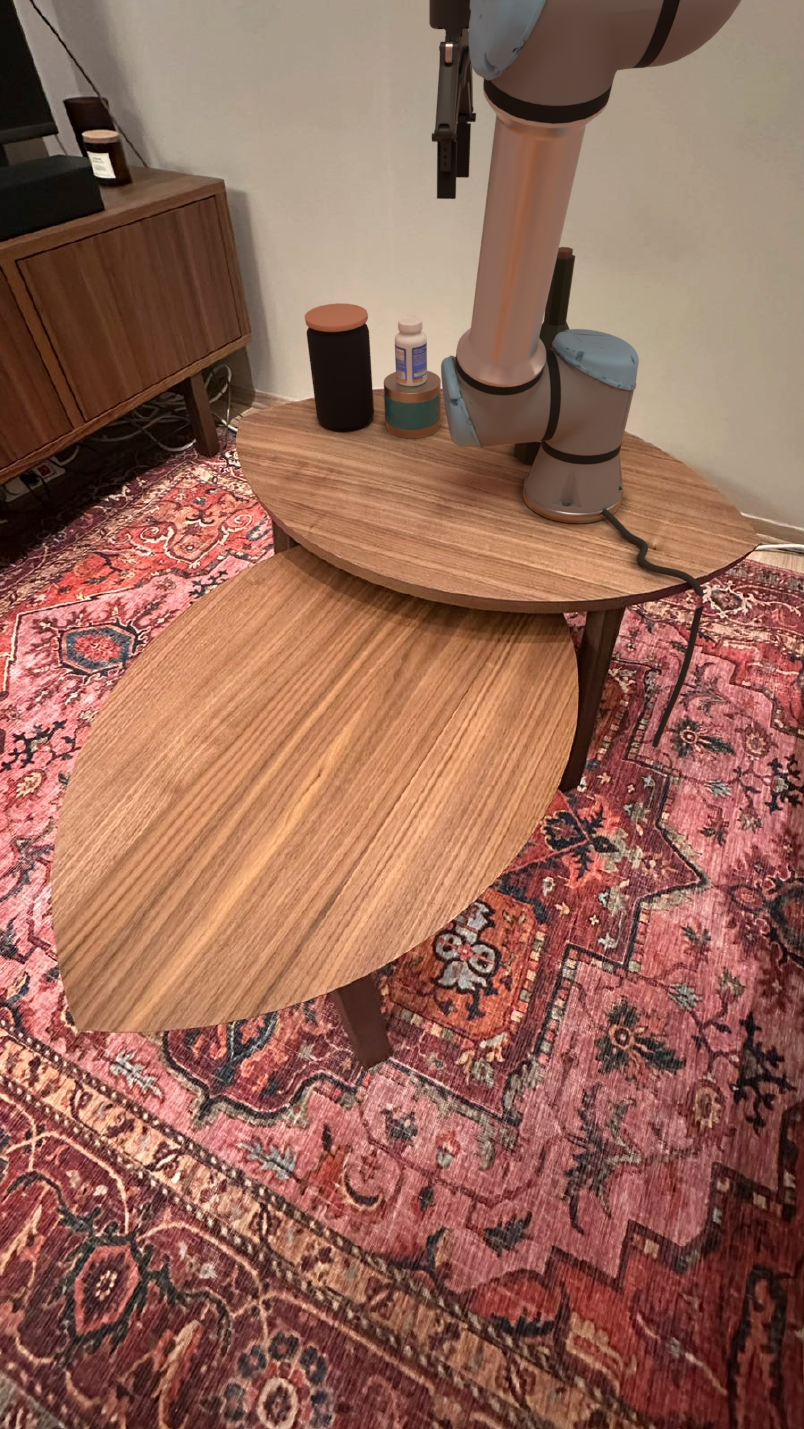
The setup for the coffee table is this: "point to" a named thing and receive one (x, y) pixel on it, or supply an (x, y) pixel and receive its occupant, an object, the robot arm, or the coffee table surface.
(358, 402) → the coffee jar
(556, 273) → the wine bottle
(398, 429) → the tin
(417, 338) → the pill bottle
